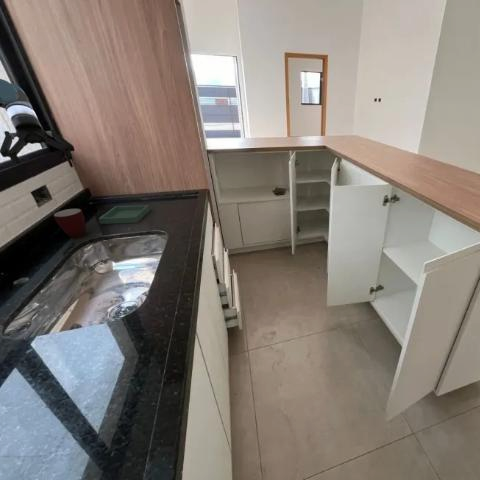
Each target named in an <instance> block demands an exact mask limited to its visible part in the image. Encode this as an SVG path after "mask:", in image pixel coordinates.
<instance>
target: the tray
mask: <svg viewBox="0 0 480 480" xmlns="http://www.w3.org/2000/svg"><path fill="white" fill-rule="evenodd" d="M150 211H151V208H150V205H148V204H145V205H141V204H140V205H139V204H138V205H116V206H114V207H113V208H110V209H109V210H108V211H107V212H105V213H104V214H103V215H101V216H100V217H99V218H98V221H99V224H100V225H111V224H132V223H133V224H134V223H136V224H137V223H139V222H140V221H141V220H142V219H143V218H144V217H145V216H146V215H147V214H148V213H149V212H150Z"/></svg>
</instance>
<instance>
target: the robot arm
mask: <svg viewBox="0 0 480 480" xmlns="http://www.w3.org/2000/svg"><path fill="white" fill-rule="evenodd" d="M0 108H1V109H4V110H5V111H6V113H7V115H8V118H9V120H10V121H11V123H12V126H13V128H14V131H15V132H10V131H8V130H5V131H3V133H4V139H3V141H2V144H1V146H0V155H1V156H2V158H9V159H10V161H11V162H12V163H13V162H16V163H18V164H22V162H21V160H20V158H19V156H18V155H19V153H20V152H21V151H22V150H23V149H24V147H26V146H27V145H29V144H30V145H34V144H42V143H44V144H46V145H49V146H51V147H53V148H55V149H58V150H59V151H62V152H63V154H64V157H65V158H66V159H65V160H66V161H67V163H68V165H69V166H70V168H74V165H73V162H72V160H73V159H74V158H73V154H72V152H76V151H75V146H74V145H73V144H72V143H71V142H69V141H68V140H66V139H65V138H64V137H62V136H61V135H60V134H59V133H57V132H56V130H55V129H54V128H50V129H49V130H47V131H45V129H44V128H43V126H42V124H41V123H40V121H39V118H38V116H37V114H36V112H35V110H34V108H33V106H32V104H31V102H30V99H29V97H28V95H27V94H26V92H25V91H24V90H23V89H22V88H21V87H20V86H18V85H17V84H14V83H12V82H9V81H7V80H6V79H2V78H0ZM49 136H50V137H51V138H50V137H49ZM16 138H18V139H17V141H16V142H15V143H14V144H13V140H15V139H16ZM52 138H53V139H52ZM54 139H55V140H54ZM12 144H13V145H12ZM20 162H21V163H20Z"/></svg>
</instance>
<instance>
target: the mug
mask: <svg viewBox="0 0 480 480" xmlns="http://www.w3.org/2000/svg"><path fill="white" fill-rule="evenodd" d="M53 218H54V220H55V222H56V223H57V225H58V226H59V227H60V229H61V230H62V232H64V234H66V235H67V236H69V237H70V238H72V239H79V238H82V237H84V236H85V235H86V232H87V225H86V220H85V215H84V212H83V211H82V209H81V208H68V209H63V210H60V211H56V212H54V213H53Z"/></svg>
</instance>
